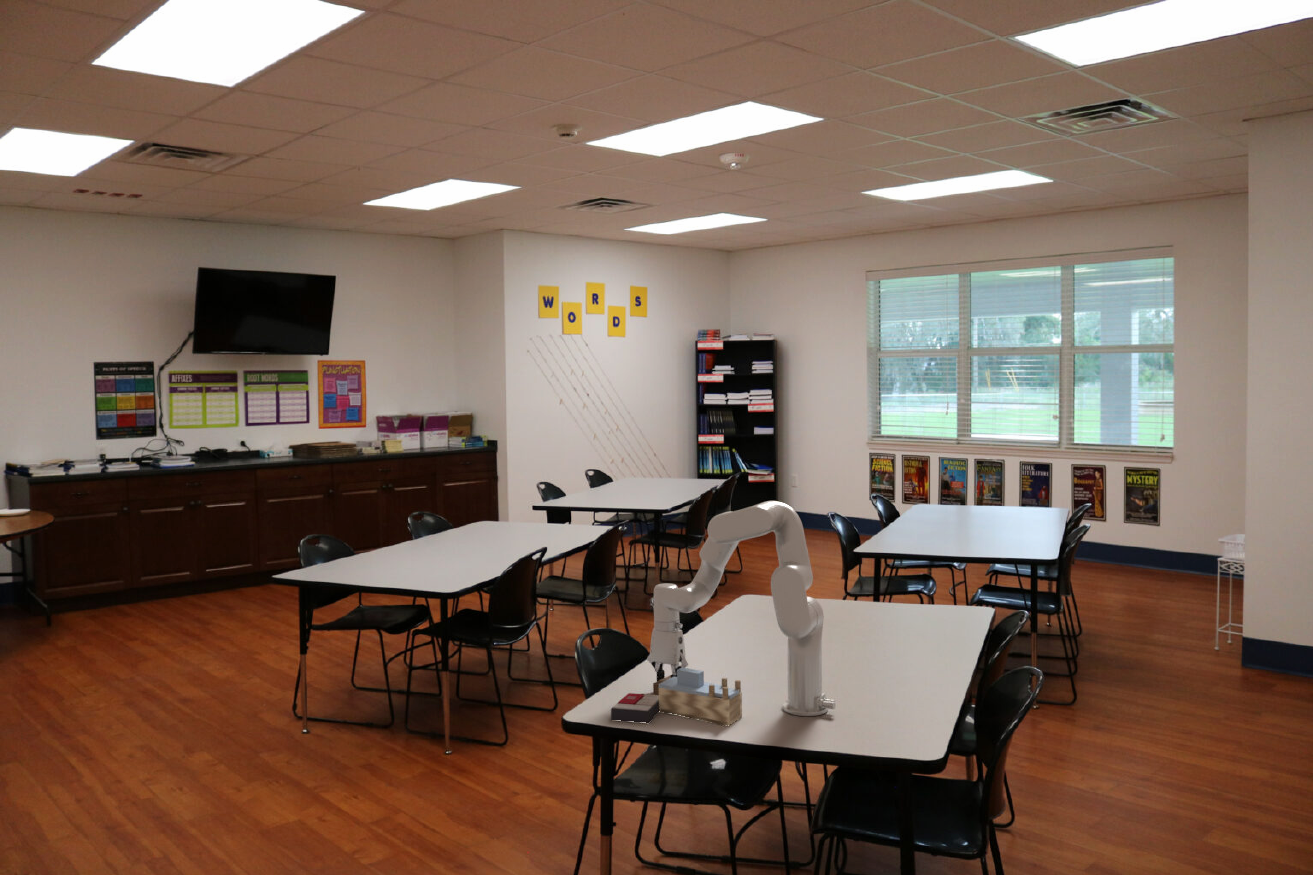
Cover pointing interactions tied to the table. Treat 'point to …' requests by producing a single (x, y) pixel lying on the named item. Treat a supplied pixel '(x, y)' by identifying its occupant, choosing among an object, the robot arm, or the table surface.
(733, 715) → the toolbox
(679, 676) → the lid
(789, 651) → the robot arm
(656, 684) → the brown wooden block
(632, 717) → the grey red box
